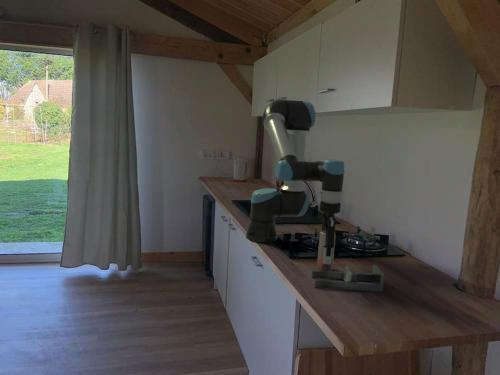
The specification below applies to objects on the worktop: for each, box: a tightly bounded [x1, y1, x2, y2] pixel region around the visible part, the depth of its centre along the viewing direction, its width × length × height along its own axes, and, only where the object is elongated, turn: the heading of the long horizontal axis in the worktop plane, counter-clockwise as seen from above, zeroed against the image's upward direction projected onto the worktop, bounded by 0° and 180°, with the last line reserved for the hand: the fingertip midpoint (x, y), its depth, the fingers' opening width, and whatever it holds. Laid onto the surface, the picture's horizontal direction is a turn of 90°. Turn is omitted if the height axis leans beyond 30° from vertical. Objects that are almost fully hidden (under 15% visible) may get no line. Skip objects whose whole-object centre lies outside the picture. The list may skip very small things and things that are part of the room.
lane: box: [310, 264, 386, 293], centre depth 141 cm, size 10×23×6 cm, turn 89°
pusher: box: [342, 265, 358, 282], centre depth 141 cm, size 7×3×5 cm, turn 179°
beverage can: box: [316, 230, 336, 271], centre depth 152 cm, size 6×6×15 cm
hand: (325, 260), depth 153 cm, fingers open, 7 cm apart
